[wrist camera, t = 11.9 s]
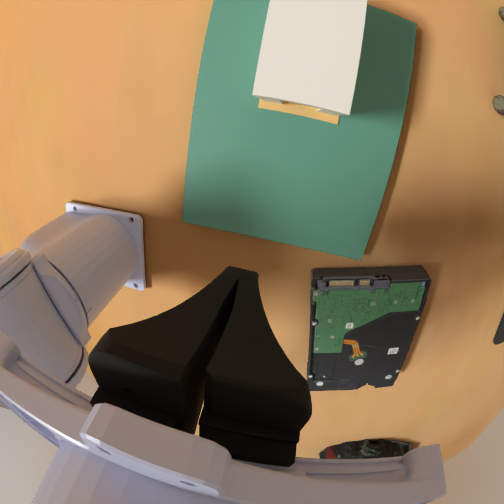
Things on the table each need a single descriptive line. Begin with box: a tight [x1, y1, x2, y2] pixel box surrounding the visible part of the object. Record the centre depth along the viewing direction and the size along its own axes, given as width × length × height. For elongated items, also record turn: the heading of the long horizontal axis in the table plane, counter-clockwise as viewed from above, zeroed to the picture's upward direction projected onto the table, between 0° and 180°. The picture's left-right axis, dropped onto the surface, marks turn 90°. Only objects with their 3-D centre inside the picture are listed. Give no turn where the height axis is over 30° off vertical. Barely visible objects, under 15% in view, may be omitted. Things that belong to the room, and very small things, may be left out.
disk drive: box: [307, 266, 431, 391], centre depth 24 cm, size 10×3×15 cm
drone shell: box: [319, 439, 412, 459], centre depth 37 cm, size 21×20×8 cm
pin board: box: [182, 0, 417, 261], centre depth 15 cm, size 14×19×4 cm
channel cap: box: [252, 0, 367, 116], centre depth 11 cm, size 5×8×5 cm, turn 171°
